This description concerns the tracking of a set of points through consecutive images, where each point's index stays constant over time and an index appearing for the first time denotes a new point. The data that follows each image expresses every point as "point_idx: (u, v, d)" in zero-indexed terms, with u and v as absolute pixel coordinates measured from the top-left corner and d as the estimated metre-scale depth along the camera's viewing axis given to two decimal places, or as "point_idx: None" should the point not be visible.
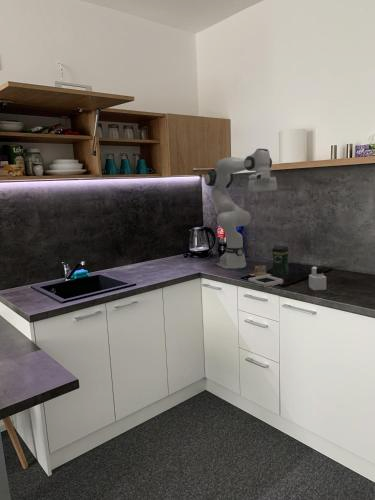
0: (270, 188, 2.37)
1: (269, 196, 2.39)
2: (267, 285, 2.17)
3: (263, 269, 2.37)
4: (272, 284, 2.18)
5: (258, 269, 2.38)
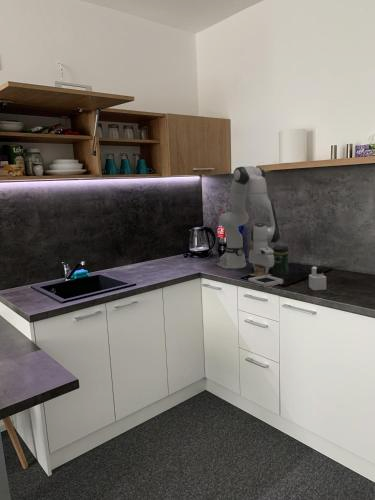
0: None
1: None
2: (267, 285, 2.17)
3: (264, 269, 2.37)
4: (272, 284, 2.18)
5: (259, 269, 2.37)
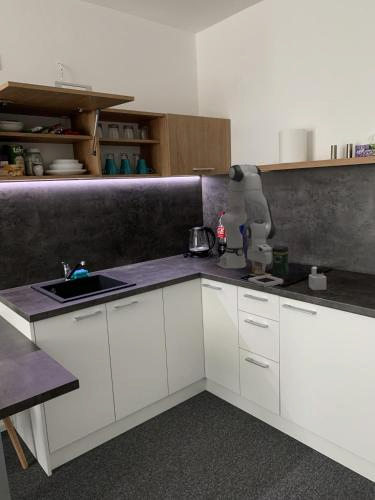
0: None
1: None
2: (267, 285, 2.17)
3: None
4: (272, 284, 2.18)
5: (256, 267, 2.38)
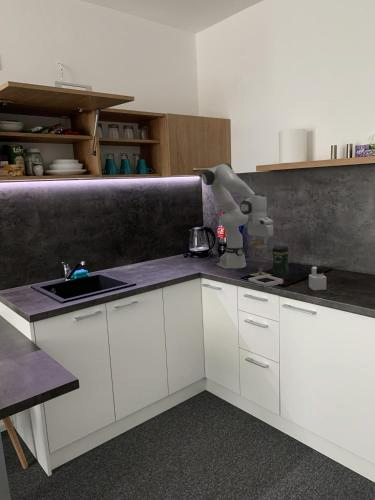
0: None
1: None
2: (267, 285, 2.17)
3: None
4: (272, 284, 2.18)
5: (258, 242, 2.34)
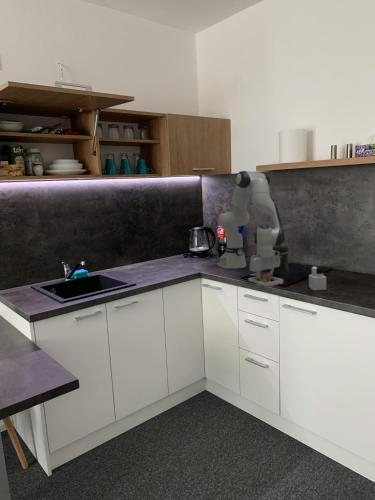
0: None
1: None
2: (267, 285, 2.17)
3: None
4: (272, 284, 2.18)
5: (269, 275, 2.23)
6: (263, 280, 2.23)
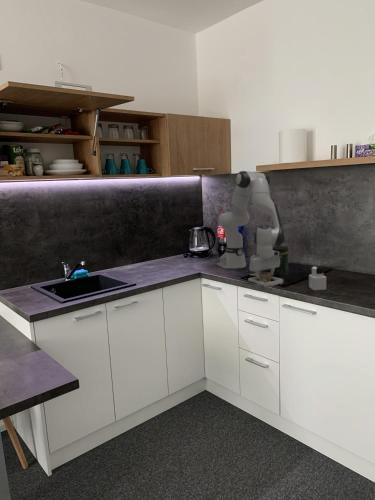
0: None
1: None
2: (267, 285, 2.17)
3: None
4: (272, 284, 2.18)
5: (269, 275, 2.23)
6: (263, 280, 2.23)
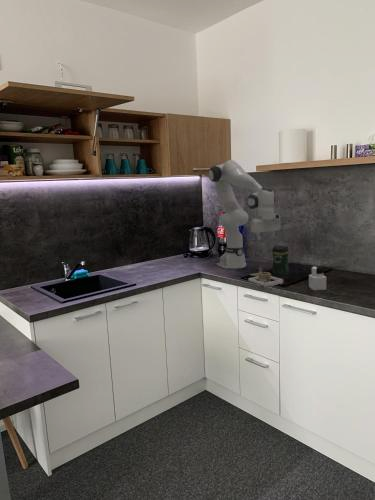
0: None
1: None
2: (267, 285, 2.17)
3: None
4: (272, 284, 2.18)
5: (269, 275, 2.23)
6: (263, 280, 2.23)
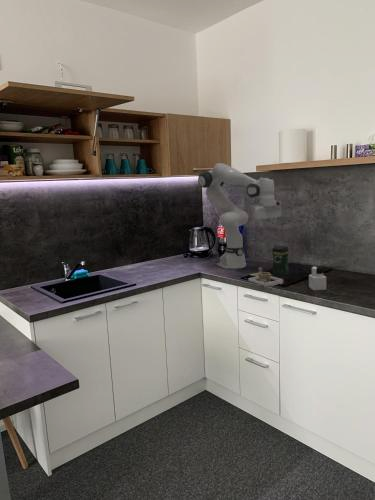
0: None
1: None
2: (267, 285, 2.17)
3: None
4: (272, 284, 2.18)
5: (269, 275, 2.23)
6: (263, 280, 2.23)
